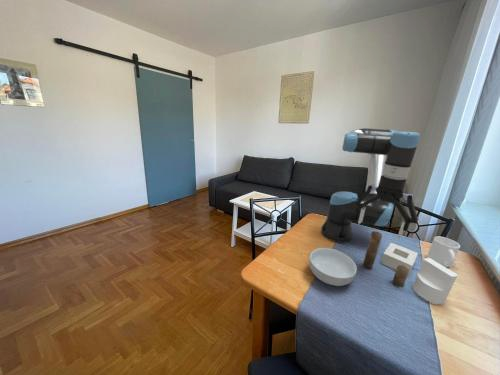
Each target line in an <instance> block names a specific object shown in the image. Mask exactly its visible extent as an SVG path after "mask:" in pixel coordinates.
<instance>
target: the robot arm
mask: <svg viewBox="0 0 500 375" xmlns="http://www.w3.org/2000/svg"><path fill="white" fill-rule="evenodd" d="M420 135H421V134H420V133H419V132H413V131H397V130H394V129H389V128H388V129H380V128H366V127H365V128H357V129H353V130H350V131H349V132H347V133H345V134H344V137H343V138H344V139H343V145H342V151H344V152H348V153H360V154H368V155H369V156H370V157H369V163H368V171H367V178H366V186H365V191H364V193H363V194H362V195H361V196H360V197H358V194H357V193H355V192H351V191H345V190H344V191H337V192H334V193H333V194H332V195H331V197H330V200H329V207H328V212H327V217H326V220H324V222H323V224H322V226H321V229H320V233H321V234H322V236H323V237H324V238H327V240H330V241H332V242H336V243H349V242H351V241H352V238H353V229H352V222H357V224H360V225H361V223H363V224H367V225H372V226H377V227H385V226H387V225H388V223H389V221H390V220H391V217H392V214H393V210H394V206H395V207H396V209H397V210H398V212H399V214H400V215H401V217H402V219H403V221H402V222H401V226H400V229H399V231H398V235H397V239H401V237H402V235H403V232H404V231H405V232H407V231H408V230H409V227H410V224H417V223H418V221H419V218H418V214H417V212H416V207H415V204H414V200H413V199H414V194H413V193H404V190H405V186H406V184H407V180H406V179H407V178H408V176H409V173H410V171H411V166H412V163H413V159H414V157H415V155H416V151H417V148H418V146H419V141H420V137H421V136H420ZM401 198H404V200H405V201H406V204H407V208H408V212H409V213H408V212H407V210H406V208H405V207H404V205H403V203H402V201H401ZM409 214H410V215H409Z"/></svg>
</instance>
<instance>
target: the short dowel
mask: <svg viewBox="0 0 500 375" xmlns="http://www.w3.org/2000/svg"><path fill="white" fill-rule="evenodd" d="M408 273H409V269H408V268H406V267H404V266H401V265H398V266H397V269H396V270H395V272H394V274H393V278H392V281H391V282H392V284H393V285H395V286H396V287H398V288H403V287H404V286H405V283H406V280H407V277H408V276H407V275H408Z"/></svg>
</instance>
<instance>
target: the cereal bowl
mask: <svg viewBox="0 0 500 375" xmlns="http://www.w3.org/2000/svg"><path fill="white" fill-rule="evenodd" d="M308 258H309V259H308V262H309V268H310V270H311V272H312V273H313V275H314V276H315V277H316V278H317V279H318V280H320V281H321V282H323V283H324V284H328V285H331V286H334V287H335V286H336V287H343V286H346V285H348V284H350V283H352V282H353V280H354V279H355V277H356V274H357V272H358V269H357V268H358V267H357V265H356V263H355V262H354V260H353V259H352V258H351V257H350V256H348V255H347V254H346V253H344V252H342V251H341V250H337V249H334V248H330V247H318V248H315V249H313V250H312V251H311V253H310V254H309V257H308Z"/></svg>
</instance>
